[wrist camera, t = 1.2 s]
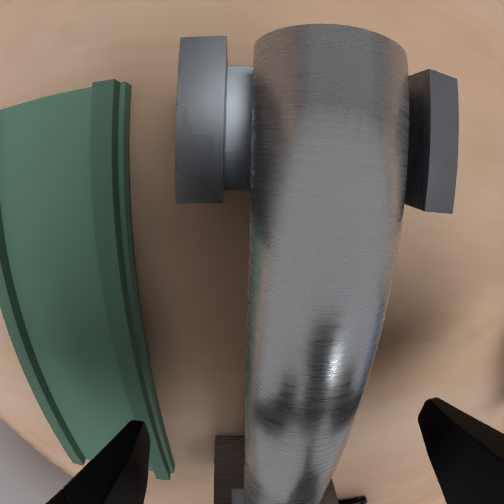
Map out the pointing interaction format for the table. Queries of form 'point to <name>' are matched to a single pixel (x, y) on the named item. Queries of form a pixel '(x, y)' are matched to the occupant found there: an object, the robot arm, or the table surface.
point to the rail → (318, 245)
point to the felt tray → (76, 268)
